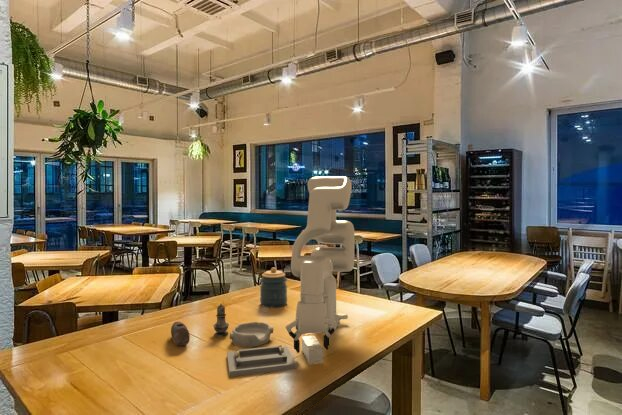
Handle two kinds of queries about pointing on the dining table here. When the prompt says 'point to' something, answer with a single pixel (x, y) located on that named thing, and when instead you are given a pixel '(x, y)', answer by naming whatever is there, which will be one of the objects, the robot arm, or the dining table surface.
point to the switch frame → (260, 360)
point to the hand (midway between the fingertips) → (311, 349)
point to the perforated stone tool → (180, 334)
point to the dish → (251, 334)
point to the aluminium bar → (312, 349)
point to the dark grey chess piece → (221, 322)
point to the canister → (273, 288)
